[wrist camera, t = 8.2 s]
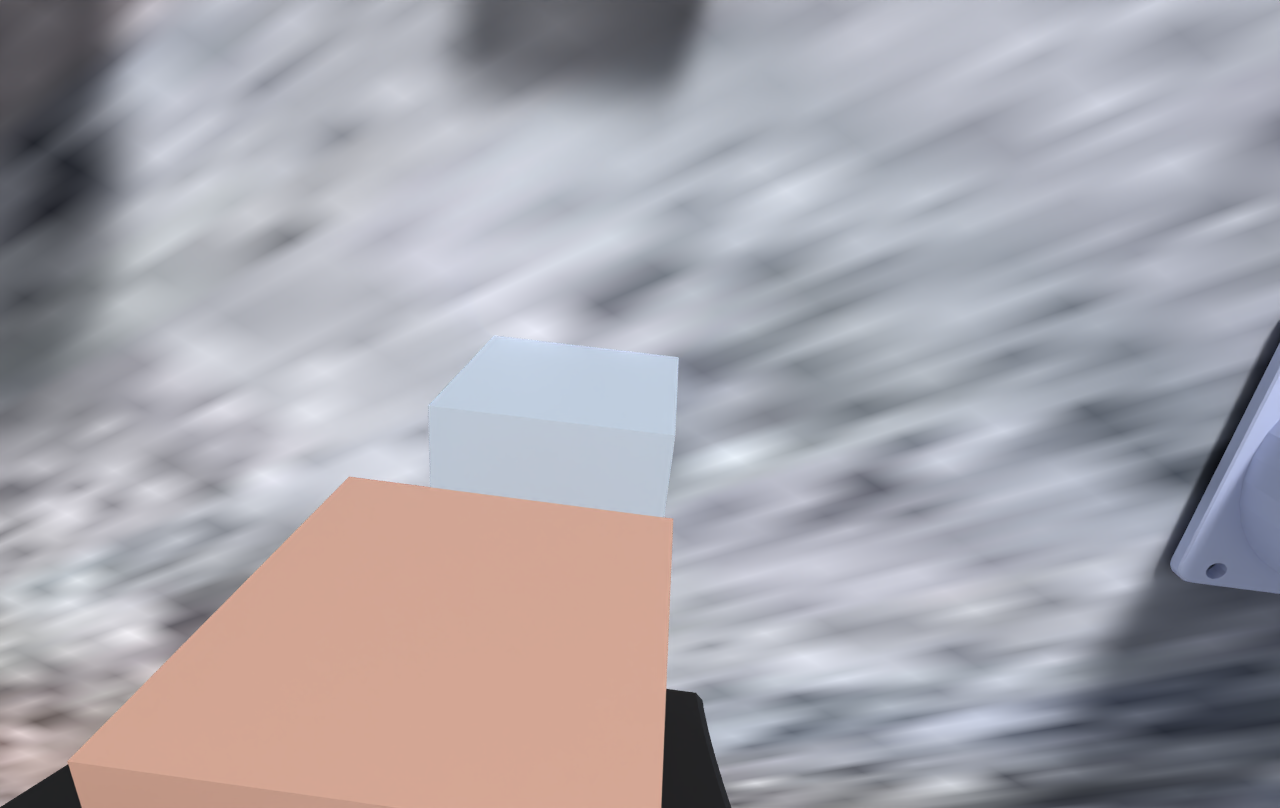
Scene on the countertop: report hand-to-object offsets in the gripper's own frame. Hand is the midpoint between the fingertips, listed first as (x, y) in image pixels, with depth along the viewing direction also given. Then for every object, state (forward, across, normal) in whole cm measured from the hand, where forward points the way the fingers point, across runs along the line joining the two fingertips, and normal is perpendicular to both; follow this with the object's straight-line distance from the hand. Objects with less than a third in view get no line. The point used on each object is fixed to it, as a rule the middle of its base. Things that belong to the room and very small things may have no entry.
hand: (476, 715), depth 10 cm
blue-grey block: (+10, 0, 0) cm, 10 cm away
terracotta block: (+2, 0, 0) cm, 2 cm away
